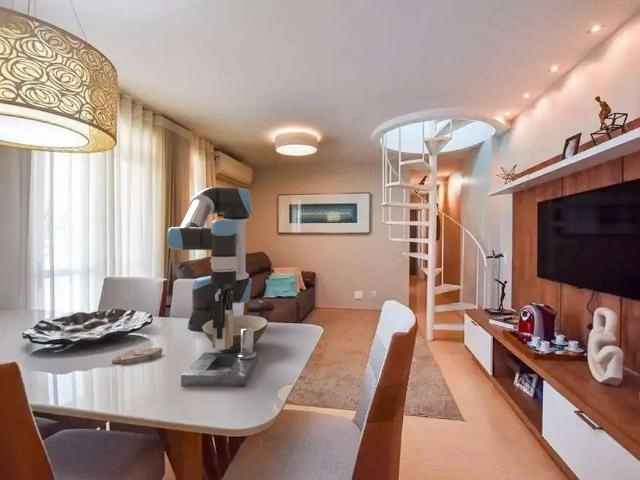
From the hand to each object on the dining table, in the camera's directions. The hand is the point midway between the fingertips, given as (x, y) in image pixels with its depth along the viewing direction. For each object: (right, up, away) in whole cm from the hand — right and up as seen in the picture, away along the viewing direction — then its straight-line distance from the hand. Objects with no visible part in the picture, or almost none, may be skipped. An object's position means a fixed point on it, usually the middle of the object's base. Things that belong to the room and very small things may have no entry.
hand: (223, 345), depth 100 cm
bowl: (-2, -9, +22) cm, 24 cm away
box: (0, -1, 0) cm, 1 cm away
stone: (-33, -9, +12) cm, 36 cm away
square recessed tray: (0, -8, 0) cm, 8 cm away
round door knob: (+6, -8, +6) cm, 12 cm away
